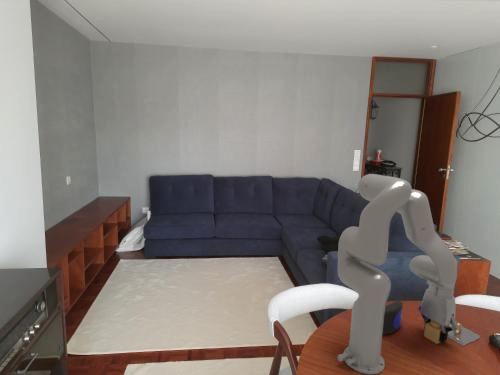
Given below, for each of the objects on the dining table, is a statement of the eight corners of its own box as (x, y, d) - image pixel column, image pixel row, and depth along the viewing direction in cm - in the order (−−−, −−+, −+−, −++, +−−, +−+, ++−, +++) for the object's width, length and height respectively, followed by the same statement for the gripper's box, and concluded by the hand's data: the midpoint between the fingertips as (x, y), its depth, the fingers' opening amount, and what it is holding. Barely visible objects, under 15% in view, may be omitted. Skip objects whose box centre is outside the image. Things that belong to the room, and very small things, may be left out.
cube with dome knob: (436, 344, 114) (439, 326, 113) (423, 336, 119) (426, 319, 117) (445, 340, 116) (448, 323, 115) (432, 332, 121) (434, 315, 120)
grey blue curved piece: (381, 340, 116) (384, 315, 114) (370, 333, 119) (372, 309, 118) (407, 326, 125) (410, 303, 123) (396, 320, 128) (398, 298, 127)
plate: (462, 345, 113) (464, 334, 113) (435, 330, 122) (437, 319, 122) (479, 338, 118) (481, 327, 117) (451, 324, 127) (453, 313, 126)
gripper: (412, 281, 120) (407, 326, 123) (459, 303, 105) (452, 353, 108) (425, 278, 124) (420, 321, 127) (472, 298, 109) (465, 347, 111)
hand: (435, 336), depth 117 cm, fingers closed on cube with dome knob, 5 cm apart
